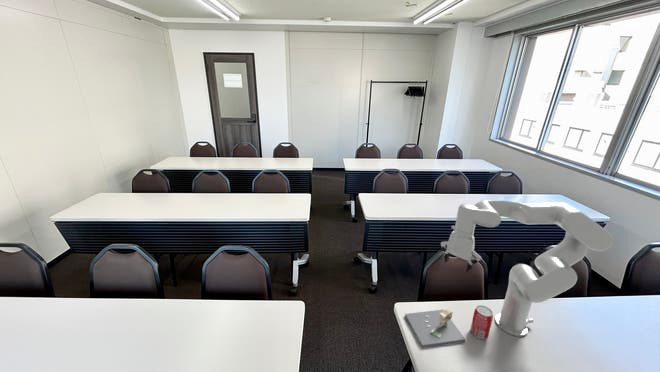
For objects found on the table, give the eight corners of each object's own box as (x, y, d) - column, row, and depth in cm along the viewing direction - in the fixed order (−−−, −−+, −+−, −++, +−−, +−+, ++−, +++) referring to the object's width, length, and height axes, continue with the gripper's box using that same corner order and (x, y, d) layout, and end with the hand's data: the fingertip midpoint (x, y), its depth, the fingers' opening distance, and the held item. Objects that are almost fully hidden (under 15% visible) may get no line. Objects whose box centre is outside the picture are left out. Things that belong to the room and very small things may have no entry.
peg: (445, 319, 123) (447, 307, 121) (450, 323, 121) (453, 312, 119) (428, 330, 117) (430, 318, 115) (434, 335, 115) (436, 323, 112)
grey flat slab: (443, 311, 130) (443, 309, 129) (464, 341, 114) (465, 338, 113) (404, 316, 127) (405, 313, 126) (421, 347, 111) (422, 344, 110)
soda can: (490, 341, 114) (496, 318, 110) (472, 338, 115) (478, 315, 111) (484, 328, 121) (490, 306, 117) (467, 325, 122) (473, 303, 118)
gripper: (440, 227, 117) (434, 260, 122) (482, 242, 105) (474, 278, 111) (447, 222, 122) (441, 254, 127) (488, 236, 110) (480, 270, 116)
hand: (457, 265), depth 119 cm, fingers open, 9 cm apart
